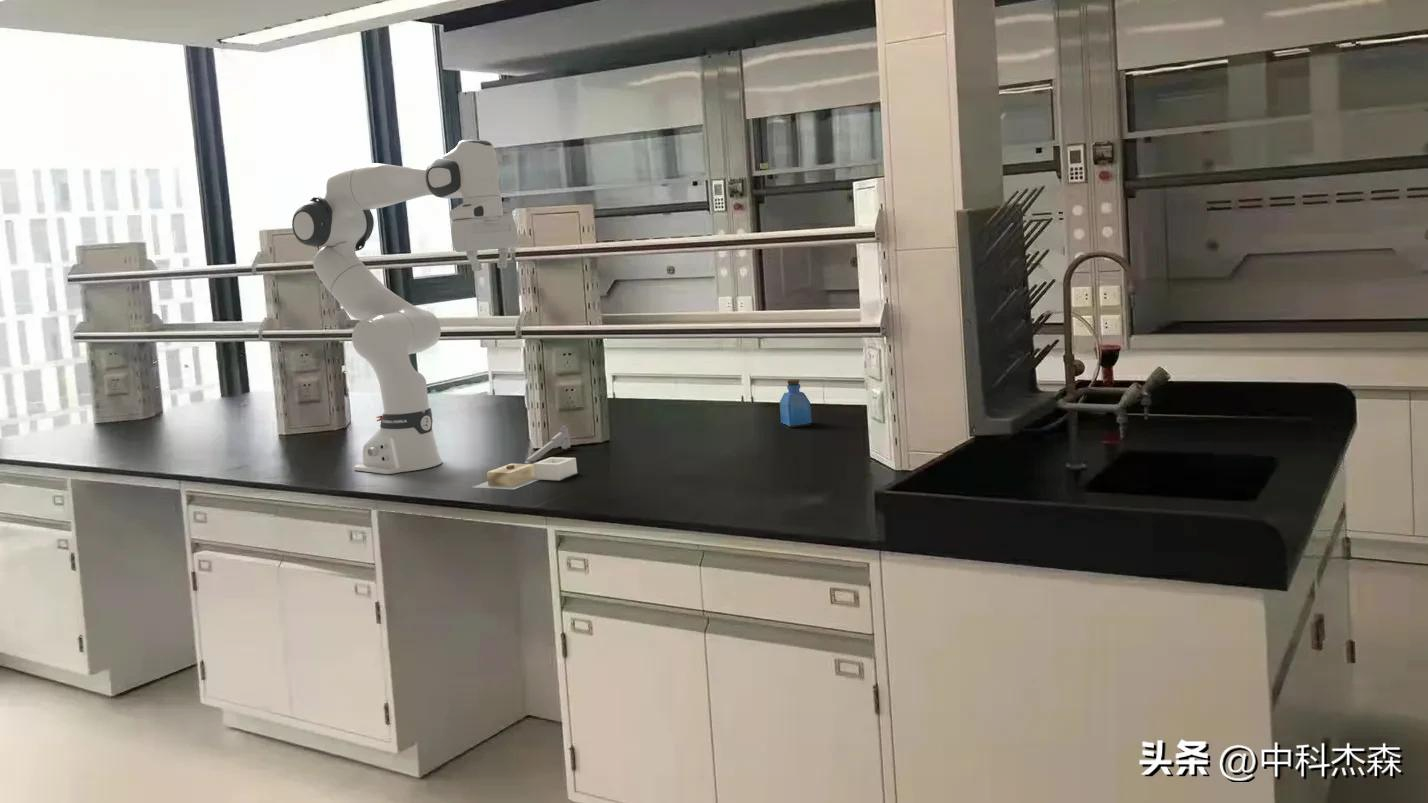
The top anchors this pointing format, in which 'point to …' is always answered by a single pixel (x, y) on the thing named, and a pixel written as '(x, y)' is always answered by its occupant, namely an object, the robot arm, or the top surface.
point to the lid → (510, 474)
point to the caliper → (552, 444)
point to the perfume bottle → (795, 405)
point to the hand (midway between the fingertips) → (489, 269)
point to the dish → (555, 468)
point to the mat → (485, 485)
